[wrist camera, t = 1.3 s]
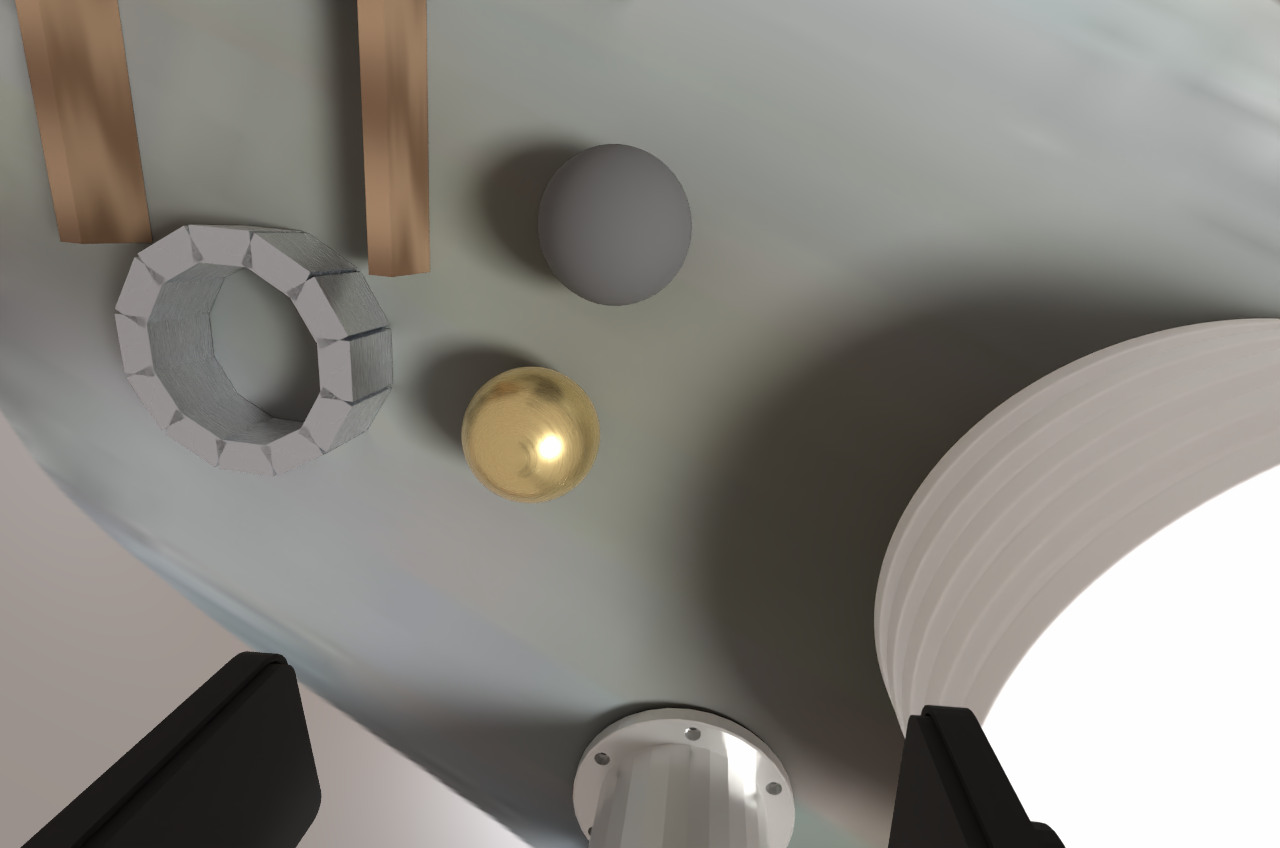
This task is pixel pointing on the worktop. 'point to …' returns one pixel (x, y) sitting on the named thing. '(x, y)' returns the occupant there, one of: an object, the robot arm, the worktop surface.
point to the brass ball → (530, 434)
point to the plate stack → (1110, 591)
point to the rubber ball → (614, 224)
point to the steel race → (192, 378)
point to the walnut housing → (108, 146)
